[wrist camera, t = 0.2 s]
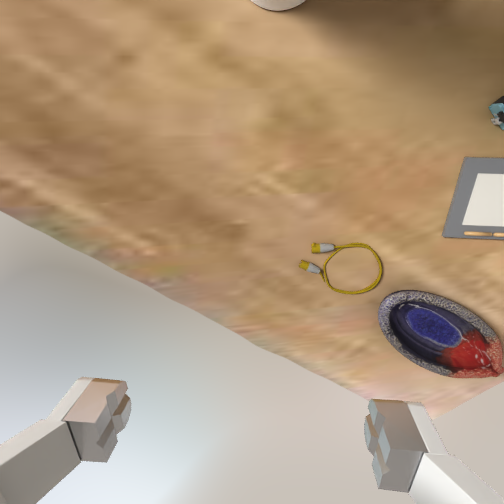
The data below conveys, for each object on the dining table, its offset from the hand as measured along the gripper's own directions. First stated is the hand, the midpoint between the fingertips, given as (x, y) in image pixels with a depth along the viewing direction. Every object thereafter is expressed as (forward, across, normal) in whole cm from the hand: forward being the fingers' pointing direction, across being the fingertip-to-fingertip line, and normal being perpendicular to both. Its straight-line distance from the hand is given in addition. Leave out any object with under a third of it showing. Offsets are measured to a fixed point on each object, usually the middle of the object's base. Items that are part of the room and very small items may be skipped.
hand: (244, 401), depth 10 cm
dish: (+48, -35, +32) cm, 68 cm away
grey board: (+48, -40, +4) cm, 62 cm away
